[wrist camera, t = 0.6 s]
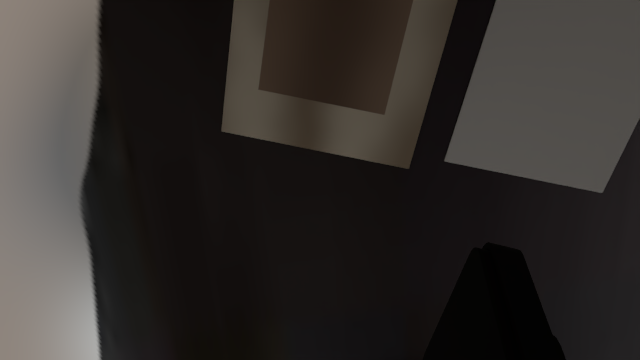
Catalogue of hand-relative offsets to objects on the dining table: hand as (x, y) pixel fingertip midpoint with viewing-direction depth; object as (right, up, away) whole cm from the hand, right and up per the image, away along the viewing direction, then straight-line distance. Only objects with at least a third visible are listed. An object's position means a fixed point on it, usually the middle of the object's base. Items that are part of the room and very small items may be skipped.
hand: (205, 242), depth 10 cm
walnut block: (+3, +11, +21) cm, 24 cm away
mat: (+16, +7, +21) cm, 28 cm away
